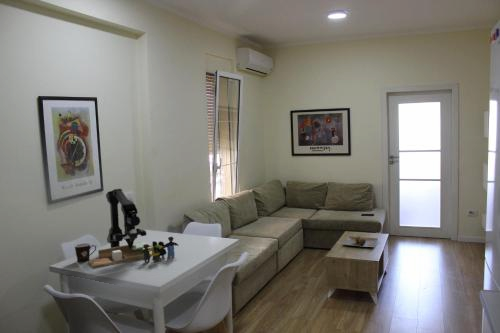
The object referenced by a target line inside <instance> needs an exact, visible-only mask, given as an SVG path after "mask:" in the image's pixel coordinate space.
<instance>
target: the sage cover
mask: <svg viewBox="0 0 500 333" xmlns="http://www.w3.org/2000/svg"><path fill="white" fill-rule="evenodd" d="M136 243H137V244H135V243H133V246H132V249H134V250H136V249H141V248H143V249H144V246H143V245H145V244H148V245H149V247H148V248H151V247H153V245H152V244H150V243H148V242H146V241H143V242H142V243H141V242H136Z"/></svg>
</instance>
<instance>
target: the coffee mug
mask: <svg viewBox="0 0 500 333" xmlns="http://www.w3.org/2000/svg"><path fill="white" fill-rule="evenodd" d="M92 247H94V248H95V249H94V250H93V251H92V252H91V253H90V250H91V248H92ZM74 250H75V255H76V261H77V262H78V263H86V262H89V260H90V257H91V256H92V255H93V254H94V253H95V252H96V251H97V246H96V245H94V244H93V245H91V244H90V243H87V242H85V243H78V244H75V245H74Z"/></svg>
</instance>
